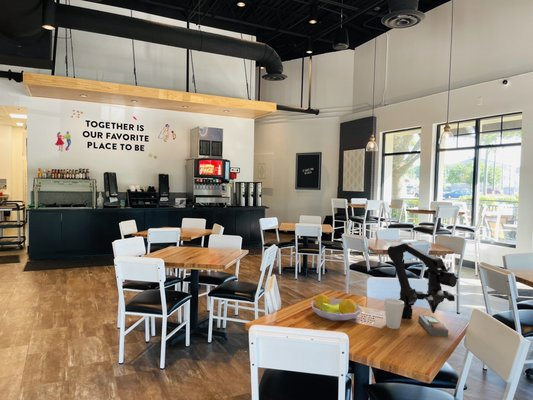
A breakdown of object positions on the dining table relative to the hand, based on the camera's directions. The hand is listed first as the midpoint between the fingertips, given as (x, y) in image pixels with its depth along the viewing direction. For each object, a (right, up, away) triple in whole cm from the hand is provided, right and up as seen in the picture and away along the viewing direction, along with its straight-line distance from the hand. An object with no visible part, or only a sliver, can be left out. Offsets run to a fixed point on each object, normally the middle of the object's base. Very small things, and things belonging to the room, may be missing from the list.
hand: (433, 312), depth 194 cm
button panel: (-1, -7, -1) cm, 8 cm away
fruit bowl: (-49, -5, +9) cm, 50 cm away
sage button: (-1, -5, -1) cm, 5 cm away
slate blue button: (0, -6, +6) cm, 8 cm away
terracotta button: (-2, -6, -8) cm, 10 cm away
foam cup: (-21, -7, -1) cm, 22 cm away
